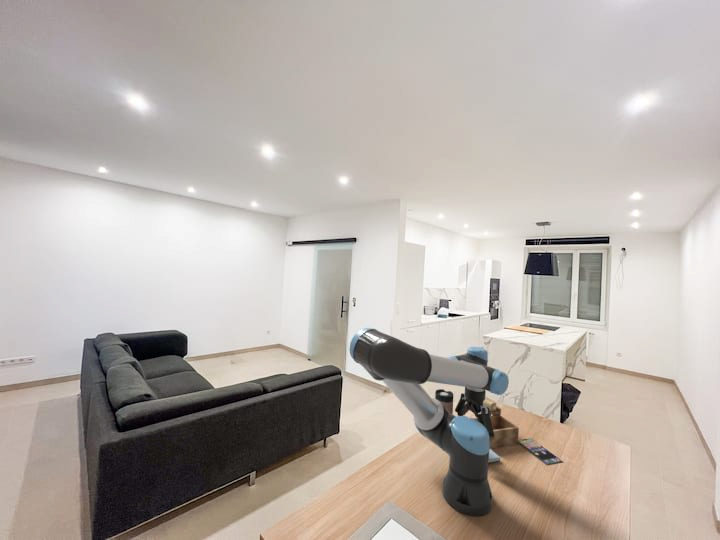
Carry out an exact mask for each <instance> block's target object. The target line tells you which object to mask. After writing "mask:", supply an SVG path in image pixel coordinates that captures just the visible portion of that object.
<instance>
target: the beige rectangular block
mask: <svg viewBox="0 0 720 540" xmlns="http://www.w3.org/2000/svg"><path fill="white" fill-rule="evenodd" d="M483 406H486V407H488V408H489V409H490V410H491V411H495V410H496V406H497V402H496V401H494V400H492V399H491V398H489V397H488V396H486V395H485V400H484V401H483Z"/></svg>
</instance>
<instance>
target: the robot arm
mask: <svg viewBox="0 0 720 540" xmlns="http://www.w3.org/2000/svg"><path fill="white" fill-rule="evenodd" d="M488 352H489V351H488V350H486V349H485V348H483V347H479V346H469V347H468V348H467V350H466V353H465V354H461V355H460V354H459V355H452V356H449V357H443V356H439V355H435V354H430V353H429V352H428V351H427V350H426V349H425V348H424V349H423V348H419V347H416V346H414V345H412V344H409V343H407V342H405V341H403V340H401V339H399V338H397V337H394V336H392V335H389V334H386V333H384V332H381V331H379V330H378V329H376V328H371V327H365V328H362V329H360V330H358V331H356V333H355V334H354V335H353V337H352V338H351V341H350V344H349V355H350V357H351V358H352V359H353V361H354V362H355V363H357V364H359V365H360V366H362V367H363V369H364V370H365V372H367V373H368V374H369V375H370V376H371V377H372V378H373V379H374V380H375V381H379V382H380V381H382V382H383V384H385V386H386V387H387V388H388V389H389V390H390V391H391V393H393V395H394V396H395V397H396V398H397V399H398V400H399V401H400V402H401V404H403V405H404V406H405V408H406V409H407V410H408V411H409V412H410V414H412V416H413V421H414V426H415V428H416V429H417V431H418V432H419V434H421V435H422V436H423V437H424V438H426V439H428V440H429V441H430V442H432V444H434V445H435V446H437V447H438V448H439V449H441V450H442V451H443V452H445V454H448V456H449V463H448V464H449V466H448V469H447V472H446V475H445V477H444V478H443V482H442V489H441V490H442V491H441V492H442V496H443V498H444V500H445V501H446V502H447V504H449V506H450V507H452V508H453V509H454V510H456V511H458V512H460V513H462V514H464V515H467V516H473V517H481V516H485V515H487V514H489V513H490V512H491V511H492V508H493V501H494V500H493V494H492V490H491V487H490V482H489V479H488V476H489V473H488V472H489V462H488V461H489V450H490V443H489V439H490V438H493V437H494V432H493V427H492V423H491V419H490V414H489V408H488V407H484V406H483V401H484V400H485V396H486V392H487V391H488V392H489V393H491V394H495V395H497V396H502V395H504V394H505V393H506V392H507V390H508V388H509V381H510V380H509V376H508V375H507V374H506V373H505V372H504V371H502V370H500V369H497V368H494V367H491V366H488V364H489V363H488V362H489V359H488V357H489V353H488ZM427 382H429V383H437V384H443V385H448V386H449V385H450V386H457V387H464V392H463V393H461V394H460V398H459V400H458V403H457V404H456V407H455V408H454V412H455V413H456V415H457V416H456V415H454V414H453V415H452V414H451V413H449V412H448V411H447V410H446V409H445V407H444V406H443V405H442V404H441V403H440V401H438V400H437V399H435V397H434V398H433V397H431V396H430V394H429V393H428V392H427V391H426V390H425V388H423V386H422V385H423V384H425V383H427ZM469 411H470V412H472V413H473V414H474V416H475V418H477V419H478V421H477V420H475V419H473V418H474V417H473V418H472V417H468V416H465V415H466V414H467V413H468V412H469Z"/></svg>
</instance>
